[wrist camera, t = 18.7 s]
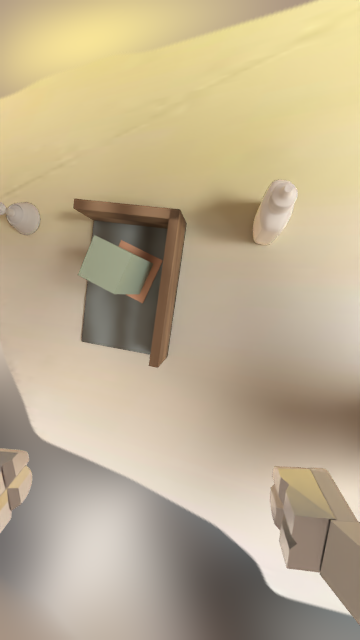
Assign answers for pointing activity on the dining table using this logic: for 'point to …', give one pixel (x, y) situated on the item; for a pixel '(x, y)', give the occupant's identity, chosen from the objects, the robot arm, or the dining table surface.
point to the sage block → (114, 268)
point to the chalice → (22, 217)
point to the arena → (158, 290)
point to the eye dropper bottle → (274, 211)
